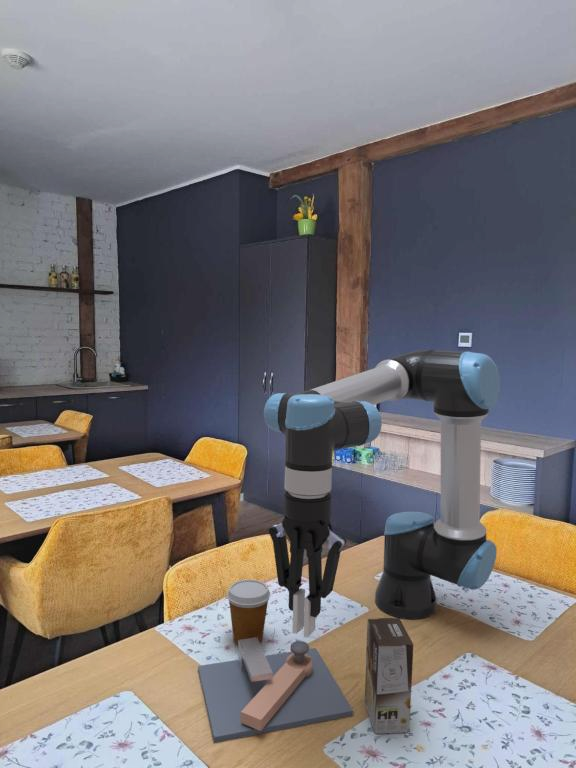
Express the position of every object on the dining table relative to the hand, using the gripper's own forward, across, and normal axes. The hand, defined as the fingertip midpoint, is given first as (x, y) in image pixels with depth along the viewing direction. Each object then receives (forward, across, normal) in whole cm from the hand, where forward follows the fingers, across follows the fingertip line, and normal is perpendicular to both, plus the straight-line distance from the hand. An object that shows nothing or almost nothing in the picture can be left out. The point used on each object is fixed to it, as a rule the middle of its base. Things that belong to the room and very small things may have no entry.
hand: (303, 631), depth 91 cm
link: (+18, +8, -7) cm, 21 cm away
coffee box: (+20, -10, -13) cm, 26 cm away
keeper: (+19, +14, -9) cm, 26 cm away
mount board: (+19, +10, -8) cm, 24 cm away
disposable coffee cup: (+20, +24, -21) cm, 37 cm away
